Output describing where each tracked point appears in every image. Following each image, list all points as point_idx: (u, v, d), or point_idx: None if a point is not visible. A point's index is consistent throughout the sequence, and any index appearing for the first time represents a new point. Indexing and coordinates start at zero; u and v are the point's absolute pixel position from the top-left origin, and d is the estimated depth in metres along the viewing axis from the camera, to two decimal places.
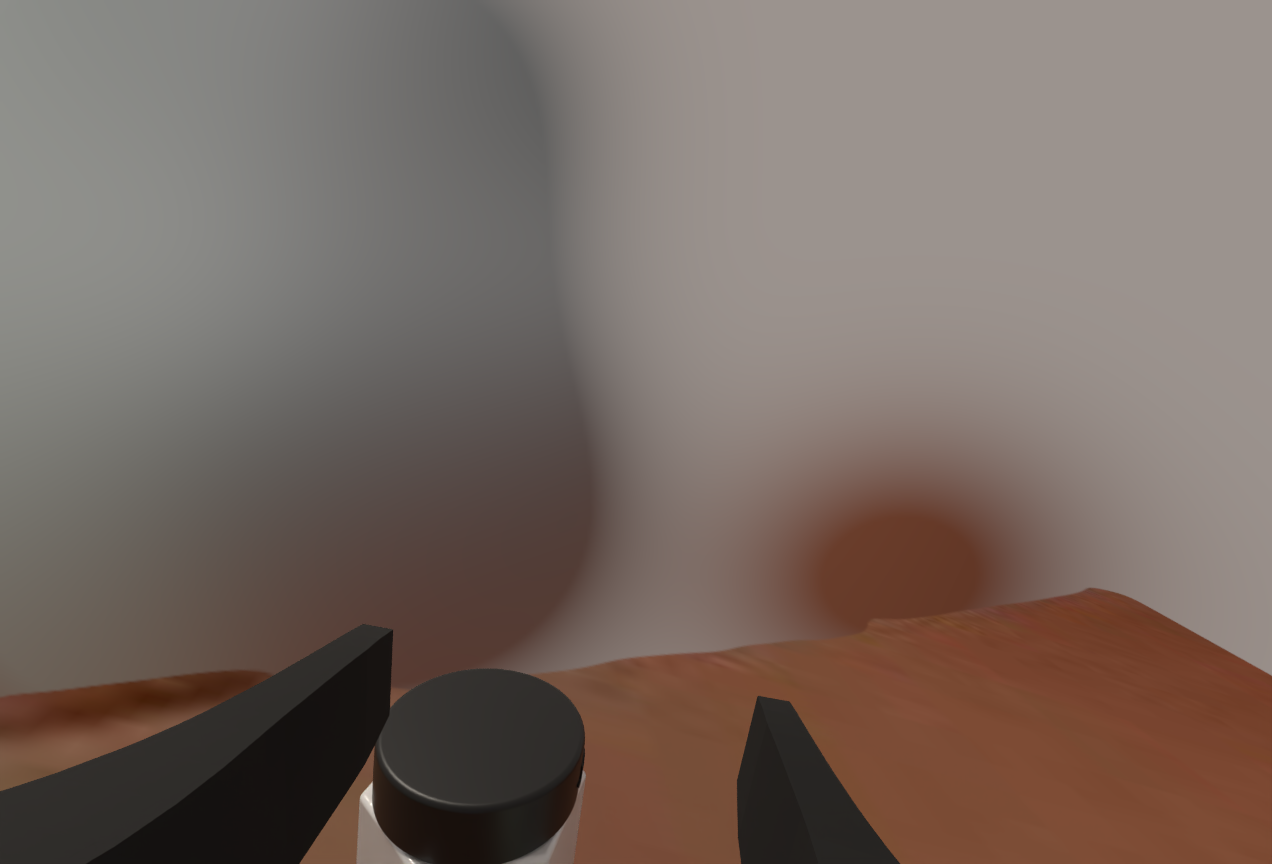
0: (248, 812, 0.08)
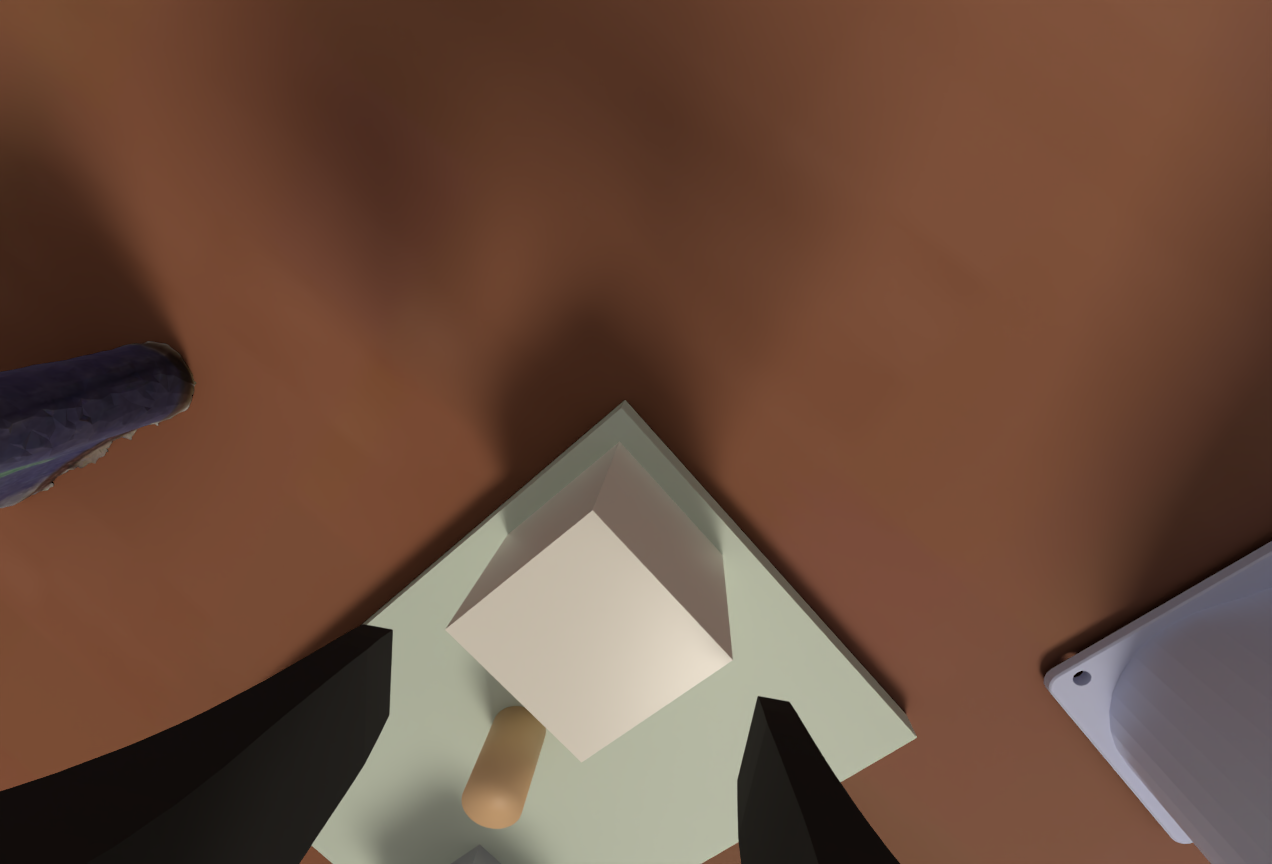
0: (248, 812, 0.08)
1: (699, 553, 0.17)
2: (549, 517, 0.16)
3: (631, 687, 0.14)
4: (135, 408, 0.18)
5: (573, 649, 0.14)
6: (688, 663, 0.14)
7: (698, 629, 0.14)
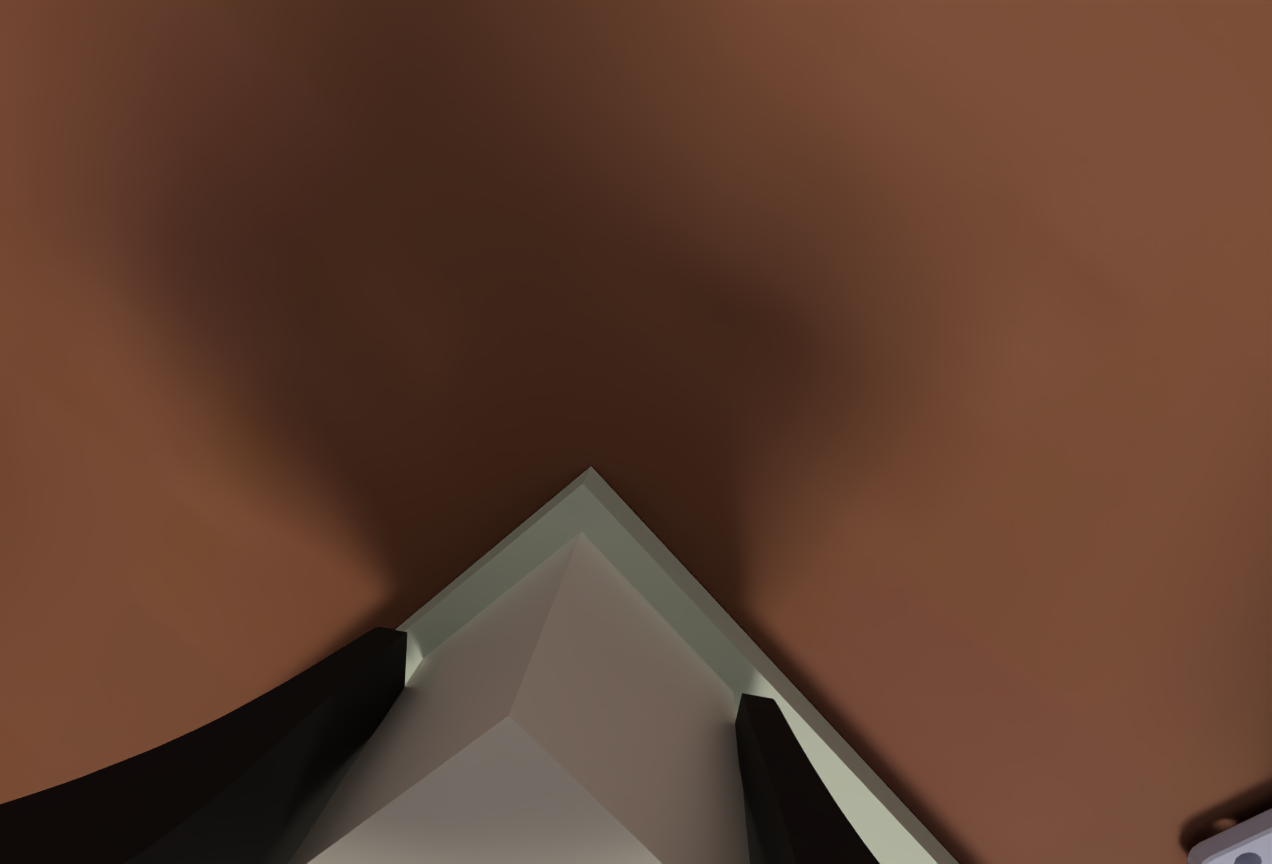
0: (268, 816, 0.08)
1: (700, 709, 0.11)
2: (465, 666, 0.10)
3: None
4: None
5: None
6: None
7: None
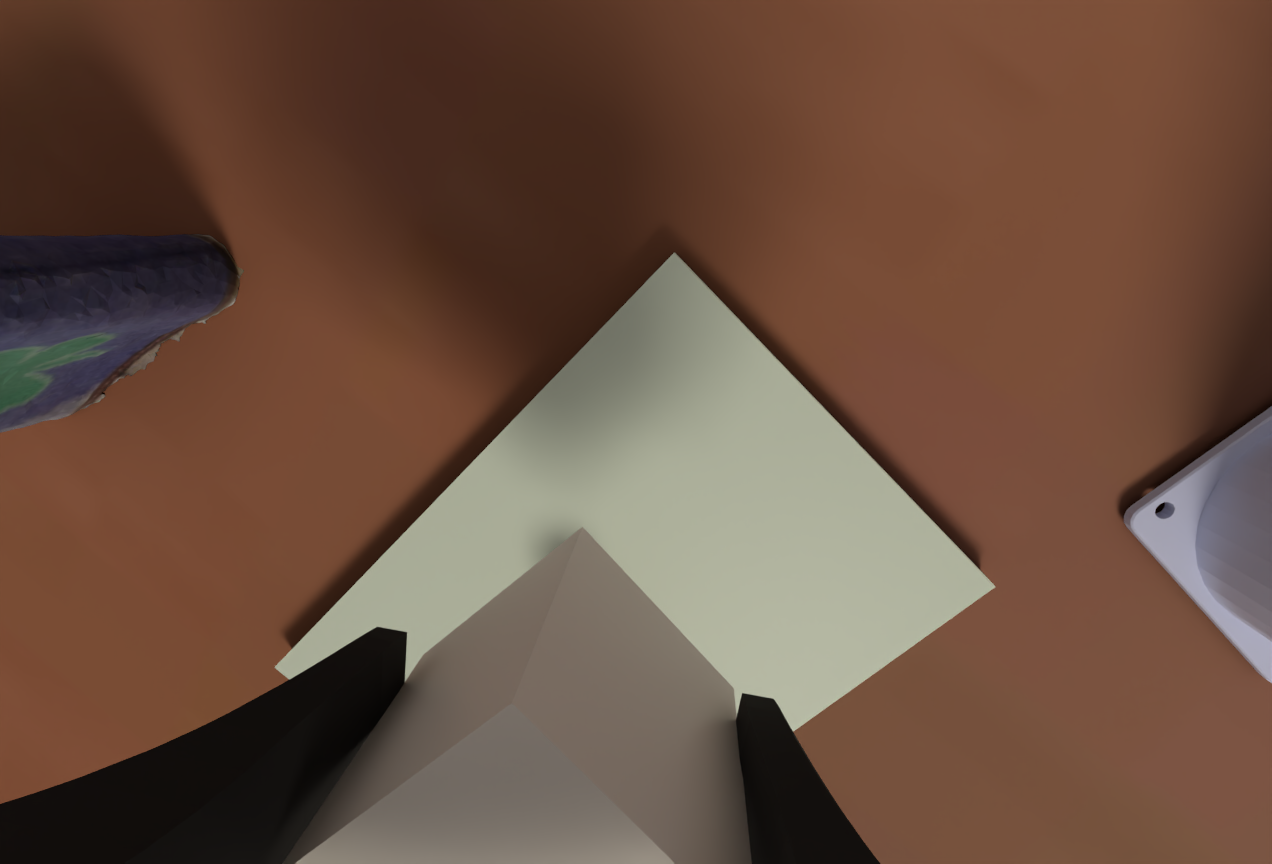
0: (268, 816, 0.08)
1: (700, 703, 0.11)
2: (466, 659, 0.10)
3: None
4: (186, 288, 0.18)
5: None
6: None
7: None
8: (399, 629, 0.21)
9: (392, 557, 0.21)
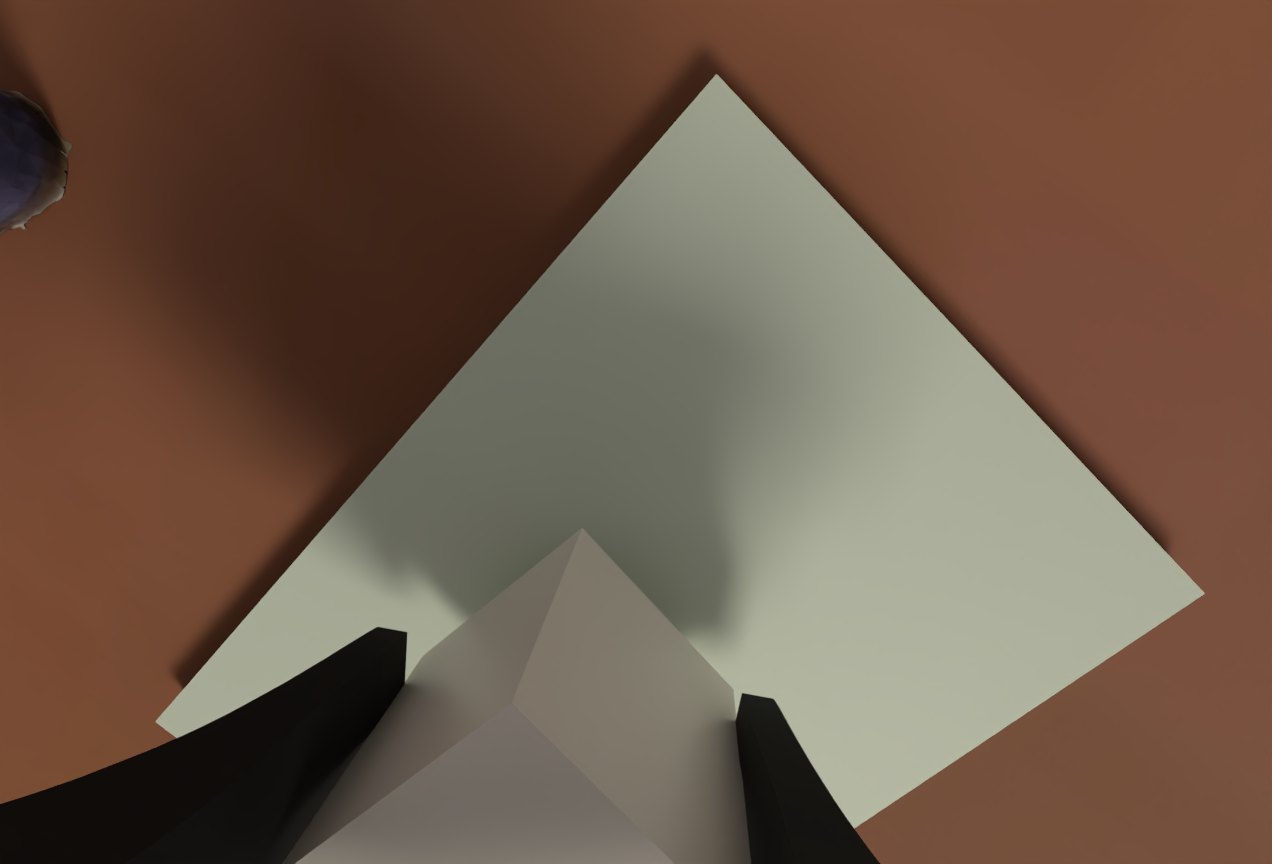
0: (268, 816, 0.08)
1: (700, 704, 0.11)
2: (466, 660, 0.10)
3: None
4: None
5: None
6: None
7: None
8: None
9: (307, 565, 0.14)
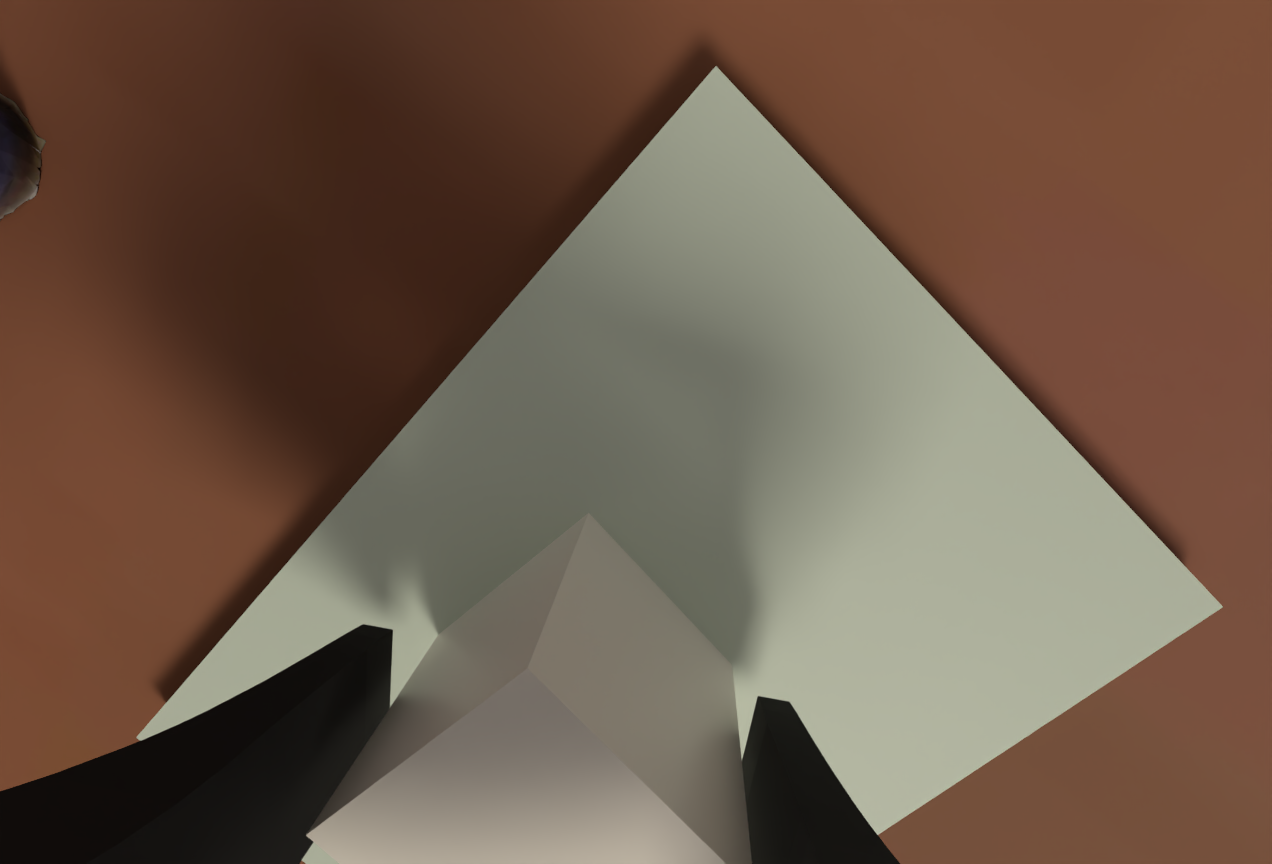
0: (248, 812, 0.08)
1: (700, 678, 0.12)
2: (481, 635, 0.11)
3: None
4: None
5: None
6: None
7: (700, 847, 0.09)
8: None
9: (292, 576, 0.14)
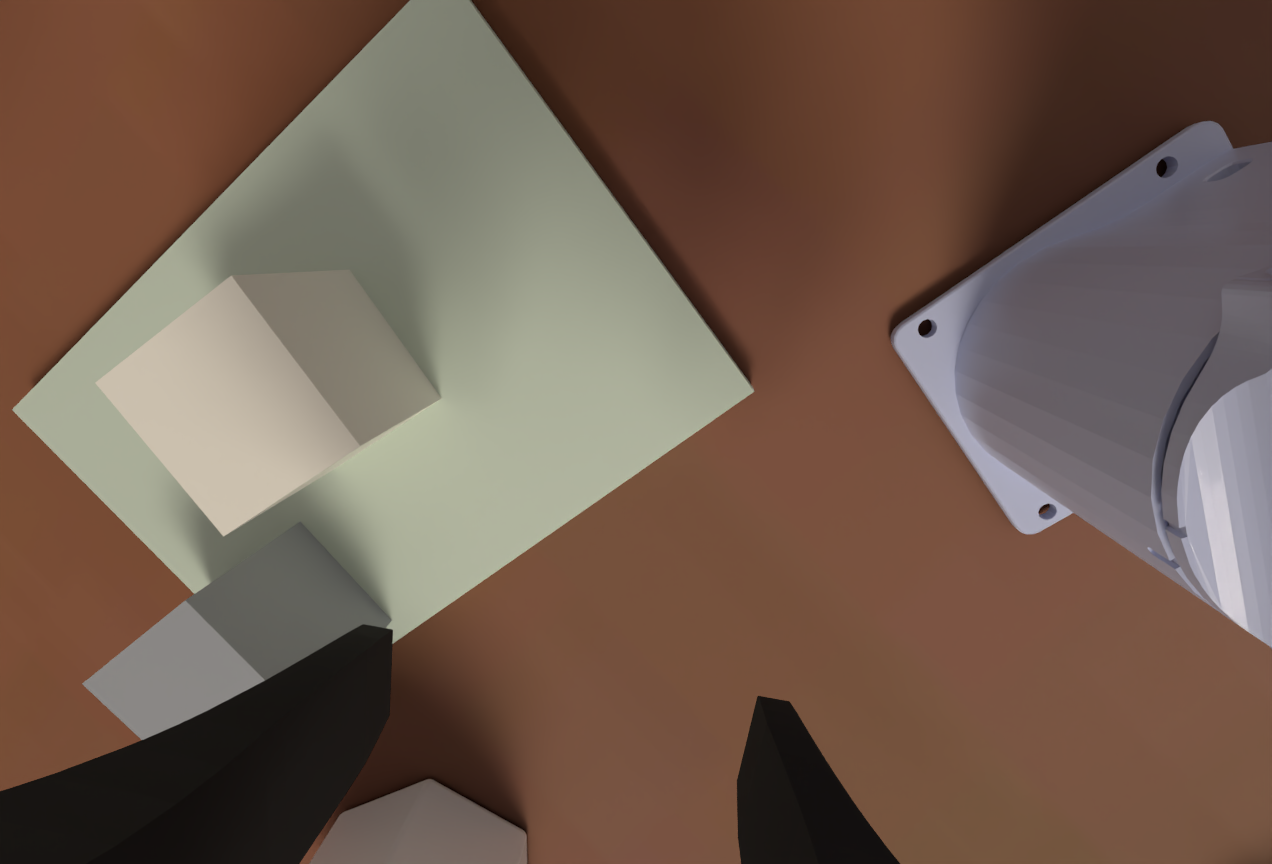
0: (248, 812, 0.08)
1: (398, 378, 0.18)
2: None
3: (268, 463, 0.15)
4: None
5: (215, 418, 0.15)
6: (320, 445, 0.15)
7: (328, 410, 0.14)
8: None
9: (140, 292, 0.19)
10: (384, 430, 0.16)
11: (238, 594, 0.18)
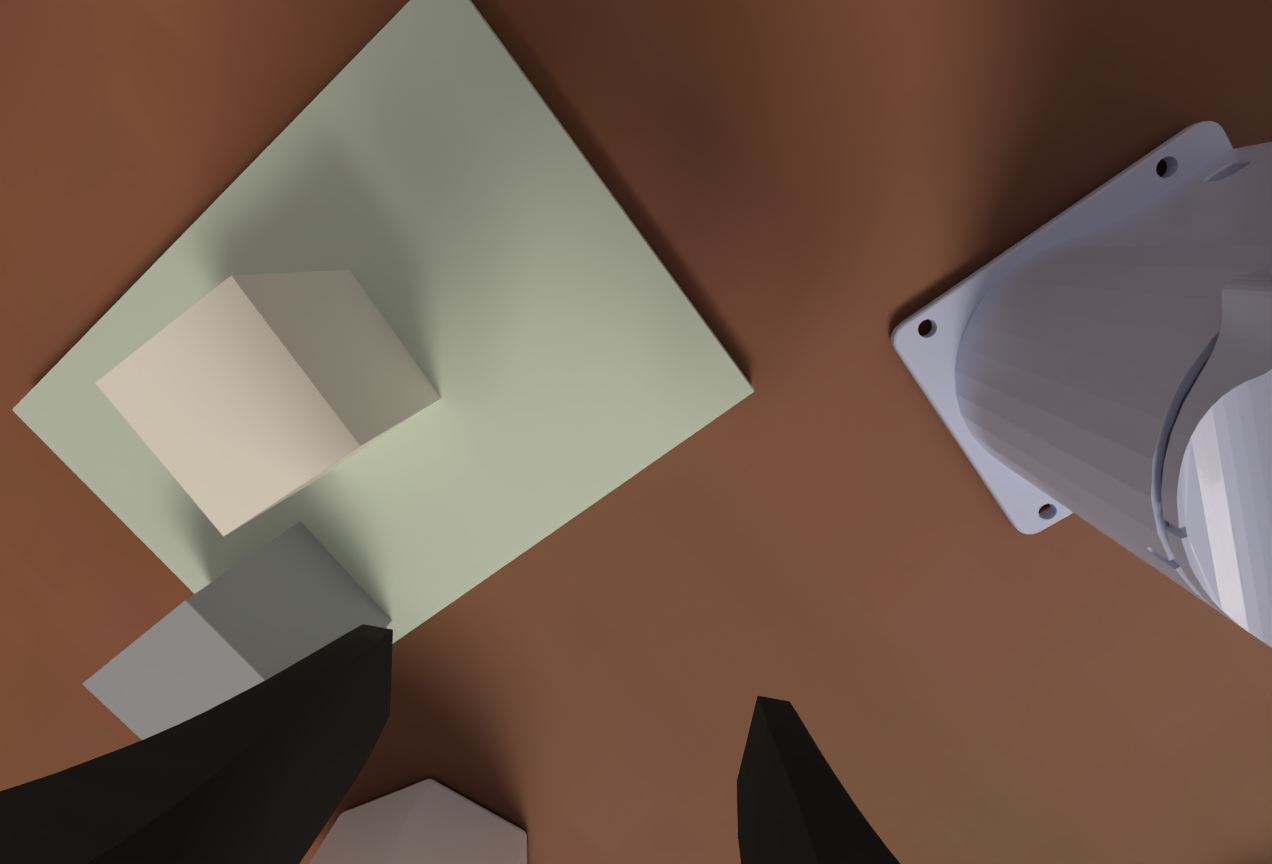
0: (248, 812, 0.08)
1: (398, 378, 0.18)
2: None
3: (268, 463, 0.15)
4: None
5: (215, 418, 0.15)
6: (320, 445, 0.15)
7: (328, 410, 0.14)
8: None
9: (140, 292, 0.19)
10: (384, 430, 0.16)
11: (238, 594, 0.18)
